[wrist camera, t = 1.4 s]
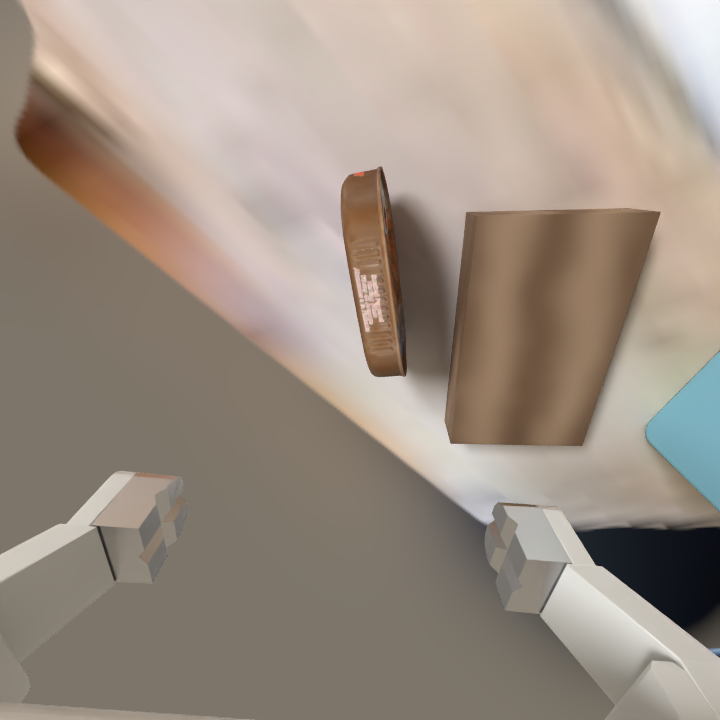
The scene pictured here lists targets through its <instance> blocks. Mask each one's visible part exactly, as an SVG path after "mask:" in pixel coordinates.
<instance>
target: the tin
mask: <svg viewBox="0 0 720 720" xmlns="http://www.w3.org/2000/svg"><path fill="white" fill-rule="evenodd" d="M341 219H342V228H343V236H344V243H345V250H346V256H347V261H348V267H349V273H350V279H351V284H352V290H353V296H354V301H355V306H356V312H357V317H358V322H359V327H360V333H361V338H362V343H363V348H364V353H365V357H366V361H367V364H368V367H369V369H370V372H371V373H372V374H373V375H374V376H376V377H388V376H404V377H405V376H406V372H407V361H406V336H405V325H404V316H403V306H402V298H401V289H400V281H399V272H398V264H397V255H396V246H395V238H394V230H393V222H392V215H391V207H390V201H389V194H388V188H387V184H386V180H385V176H384V172H383V169H382V167H378V168H377V169H374V170H370V171H365V172H359V173H354V174H351V175H349V176H348V177H347V178H346V180H345V181H344V183H343V185H342V189H341Z"/></svg>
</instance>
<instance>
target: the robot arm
mask: <svg viewBox="0 0 720 720" xmlns="http://www.w3.org/2000/svg"><path fill="white" fill-rule="evenodd" d="M183 488H184V487H183V482H182V478H180V477H177V476H167V475H158V474H148V473H135V472H127V471H118V472H116V473H114V474H112V475H111V476H110V478H109V479H108V480H107V481H106V482H105V483H104V484H103V485H102V486H101V487H100V488H99V489H98V490H97V491H96V493H95V494H94V495H93V496H92V497H91V498H90V499H89V500H88V501H87V502H86V503H85V504H84V505H83V506H82V508H81V509H80V510H79V511H78V512H77V513H76V514H75V515H74V516H73V517H72V518H71V519H70V520H69V522H68V523H67V524H58V525H56V526H54V527H52V528H51V529H49V530H47V531H45V532H43V533H41V534H39V535H37V536H35V537H33V538H31V539H29V540H28V541H26V542H24V543H22V544H20V545H18V546H16V547H14V548H12V549H10V550H8V551H6V552H4V553H3V554H1V555H0V720H250V719H236V718H222V717H208V716H193V715H178V714H165V713H164V714H163V713H150V712H136V711H121V710H107V709H92V708H78V707H63V706H49V705H34V704H20V703H21V701H22V700H23V698H24V697H25V695H26V693H27V692H28V691H29V689H30V681H29V679H28V677H27V675H26V674H25V672H24V671H23V669H22V667H21V666H20V664H19V663H20V662H21V661H22V660H23V659H25V658H26V657H27V656H28V655H30V654H31V653H32V652H33V651H34V650H36V649H37V648H38V647H39V646H40V645H42V644H43V643H44V642H45V641H46V640H48V639H49V638H50V637H51V636H53V635H54V634H55V633H56V632H57V631H59V630H60V629H61V628H62V627H63V626H64V625H66V624H67V623H68V622H69V621H71V620H72V619H73V618H74V617H76V616H77V615H78V614H79V613H80V612H82V611H83V610H84V609H85V608H86V607H88V606H89V605H90V604H91V603H92V602H94V601H95V600H96V599H97V598H98V597H100V596H101V595H102V594H103V593H105V592H106V591H107V590H108V589H109V588H111V587H112V586H113V585H114V584H115V582H135V583H153V582H154V580H155V578H156V576H157V575H158V573H159V571H160V569H161V567H162V566H163V564H164V562H165V560H166V558H167V557H168V556H167V550H166V547H167V546H169V545H170V544H172V543H173V542H175V541H176V540H177V539H178V537H179V535H180V533H181V531H182V530H183V527H184V523H185V520H186V515H187V504H186V501H185V499H184V498H183V497H182V496H181V495H180V493H181V492H182V490H183ZM492 514H493V517H494V519H495V520H494V521H493V522H492V523H490V524H489V525H488V526H487V530H486V533H485V548H486V554H487V558H488V561H489V564H490V565H491V566H492V567H493V568H494V569H495V570H496V571H497V572H498V573H499V574H498V576H497V579H496V585H497V588H498V591H499V594H500V597H501V600H502V602H503V605H504V609H505V610H508V611H518V612H528V613H536V614H541V617H542V619H543V620H544V621H545V622H546V623H547V624H548V626H549V627H550V628H551V629H552V630H553V631H554V633H555V634H556V635H557V636H558V638H559V639H560V640H561V641H562V642H563V643H564V645H565V646H566V647H567V648H568V649H569V651H570V652H571V653H572V654H573V655H574V656H575V658H576V659H577V660H578V661H579V662H580V664H581V665H582V666H583V667H584V668H585V670H586V671H587V672H588V673H589V674H590V675H591V677H592V678H593V679H594V680H595V681H596V683H597V684H598V685H599V686H600V687H601V688H602V690H603V691H604V692H605V693H606V695H607V696H608V697H609V698H610V699H611V700H612V701H613V703H614V704H615V705H616V706H615V707H614V709H613V710H612V711H611V712H610V714H609V715H608V716H607V717H606V719H605V720H720V658H719V657H717V656H716V655H715V654H714V653H712V652H711V651H710V650H708V649H707V648H706V647H704V646H703V645H702V644H700V643H699V642H698V641H697V640H695V639H694V638H693V637H692V636H691V635H689V634H688V633H686V632H685V631H684V630H683V629H682V628H680V627H679V626H678V625H676V624H675V623H674V622H672V621H671V620H670V619H669V618H667V617H666V616H665V615H664V614H662V613H661V612H659V610H657V609H656V608H654V607H653V606H652V605H651V604H649V603H648V602H647V601H646V600H644V599H643V598H642V597H641V596H639V595H638V594H637V593H635V592H634V591H633V590H631V589H630V588H629V587H628V586H627V585H625V584H624V583H623V582H621V581H620V580H619V579H618V578H616V577H615V576H614V575H612V574H611V573H610V572H609V571H607V570H606V569H605V568H603V567H601V566H596V565H595V564H594V562H593V560H592V559H591V557H590V555H589V554H588V552H587V551H586V549H585V548H584V546H583V544H582V543H581V541H580V540H579V538H578V536H577V535H576V533H575V532H574V530H573V528H572V527H571V525H570V524H569V522H568V520H567V519H566V517H565V516H564V514H563V512H562V511H561V510H560V509H559V508H558V507H555V506H541V505H536V506H535V505H528V504H514V503H499V502H498V503H497V504H496V505H495V506H494V509H493V512H492Z"/></svg>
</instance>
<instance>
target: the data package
mask: <svg viewBox="0 0 720 720" xmlns="http://www.w3.org/2000/svg"><path fill="white" fill-rule="evenodd" d="M646 438H647V440H648V442H649V443H650V444H651V445H652V446H653V447H654V448H655V449H656V450H657V451H658V452H659V453H660V454H661V455H662V456H663V457H664V458H665V459H666V460H667V461H668V462H669V463H670V464H671V465H672V466H673V467H674V468H675V469H676V470H677V471H678V472H679V473H680V474H682V475H683V476H684V477H685V478H686V479H687V480H688V481H689V482H690V483H691V484H692V485H693V486H694V487H695V488H696V489H697V490H698V491H699V492H700V493H701V494H702V495H703V496H704V497H705V498H706V499H707V500H708V501H709V502H710V503H711V504H712V505H713V506H714V507H715V508H716V509H717V510H718V511H719V512H720V351H719V352H718V353H717V354H716V355H715V356H714V357H713V358H712V359H711V360H710V361H709V362H708V363H707V364H706V365H705V366H704V367H703V368H702V369H701V370H700V371H699V372H698V373H697V374H696V375H695V376H694V377H693V378H692V379H691V380H690V381H689V382H688V383H687V384H686V385H685V386H684V387H683V389H682V390H681V391H680V392H679V393H678V394H677V395H676V396H675V397H674V398H673V399H672V400H671V401H670V402H669V403H668V404H667V405H666V406H665V407H664V408H663V409H662V410H661V411H660V412H659V413H658V414H657V415H656V416H655V417H654V418H653V419H652V420H651V421H650V422H649V423H648V425H647V427H646Z"/></svg>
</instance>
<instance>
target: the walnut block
mask: <svg viewBox="0 0 720 720" xmlns="http://www.w3.org/2000/svg"><path fill="white" fill-rule="evenodd" d="M660 213H661V212H656V211H647V210H638V209H629V208H624V209H581V210H538V211H495V212H466V220H465V230H464V239H463V249H462V259H461V268H460V278H459V288H458V297H457V307H456V317H455V326H454V336H453V345H452V355H451V365H450V374H449V384H448V394H447V403H446V413H445V424H446V428H447V431H448V435H449V439H450V443H451V444H504V445H561V446H582V445H583V442H584V439H585V436H586V433H587V430H588V427H589V424H590V421H591V418H592V415H593V412H594V409H595V406H596V403H597V400H598V397H599V394H600V391H601V388H602V385H603V382H604V379H605V376H606V373H607V370H608V367H609V364H610V361H611V358H612V355H613V352H614V349H615V347H616V344H617V341H618V338H619V335H620V332H621V329H622V326H623V323H624V320H625V317H626V314H627V311H628V308H629V305H630V302H631V299H632V296H633V293H634V290H635V287H636V284H637V281H638V278H639V275H640V272H641V269H642V266H643V263H644V260H645V257H646V254H647V251H648V248H649V245H650V242H651V239H652V237H653V234H654V231H655V228H656V225H657V222H658V219H659V216H660Z"/></svg>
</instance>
